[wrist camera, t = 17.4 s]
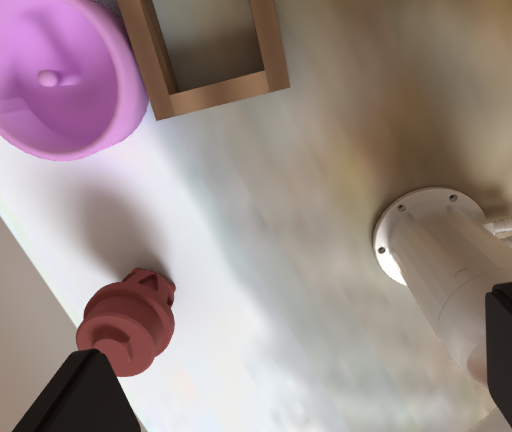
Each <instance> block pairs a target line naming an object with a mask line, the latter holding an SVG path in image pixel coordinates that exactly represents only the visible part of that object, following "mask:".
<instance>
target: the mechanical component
mask: <svg viewBox="0 0 512 432" xmlns="http://www.w3.org/2000/svg"><path fill="white" fill-rule="evenodd" d="M175 290H176V287H175V285H174V284H173V283H170V282H168V281H167V280H166V279H165V278H164V277H162V276H161V275H159V274H157V273H155V272H152V271H147V270H142V269H140V268H135V269H134V270H133V271H132V272H131V273H130V274H128V275H127V276H126V277H125V278H124V279H123V280H122V282H116V283H112V284H109V285H106V286H104V287H102V288H101V289H100V290H98V291H97V292H96V293H95V295H94V296H93V297H92V298H91V299H90V300H89V302H88V303H87V305H86V307H85V310H84V317H83V319H84V320H83V322H82V323H81V324H80V326H79V327H78V330H77V333H76V343H77V347H78V350H79V351H80V350H86V349H93V348H95V349H98V350H99V351H100V352H101V353H104V354H105V355H106V356H107V358H108V360H109V362H110V364H111V366H112V368H113V370H114V372H115V375H116V376H118V377H129V376H134V375H137V374H140V373H142V372H143V371H145V370H146V369H147V368H148V367H149V366H150V365H151V364H152V362H153V360H154V357H156V356H158V355H159V354H161V353H162V352H163V351H164V350H165V349H166V347H167V346H168V344H169V342H170V340H171V337H172V335H173V332H174V326H175V323H174V316H173V313H172V311H171V307H172V305H173V302H174V292H175Z"/></svg>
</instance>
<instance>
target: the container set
mask: <svg viewBox="0 0 512 432" xmlns="http://www.w3.org/2000/svg"><path fill="white" fill-rule="evenodd" d="M148 103H149V96H148V93H147V90H146V87H145V84H144V81H143V78H142V75H141V72H140V69H139V66H138V63H137V60H136V57H135V54H134V51H133V48H132V45H131V42H130V38H129V35H128V32H127V29H126V26H125V23H124V22H123V21H122V20H121V19H120V18H119V17H118V16H117V15H116V14H115V13H114V12H112V11H111V10H109V9H108V8H106V7H105V6H103V5H102V4H99V3H97V2H95V1H92V0H0V135H1V136H2V137H3V138H4V139H5V140H7V141H8V142H9V143H10V144H12V145H14V146H15V147H17V148H19V149H20V150H22V151H24V152H26V153H28V154H31V155H33V156H36V157H39V158H43V159H48V160H53V161H71V160H76V159H81V158H84V157H87V156H89V155H91V154H94V153H96V152H98V151H101V150H103V149H106V148H108V147H110V146H112V145H115V144H117V143H119V142H121V141H123V140H124V139H125V138H127V137H128V136H129V135H131V134H132V133H133V132H134V130H135V129H136V128H137V127H138V126H139V124H140V123H141V121H142V119H143V117H144V115H145V113H146V110H147V106H148Z"/></svg>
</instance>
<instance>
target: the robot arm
mask: <svg viewBox="0 0 512 432" xmlns="http://www.w3.org/2000/svg"><path fill="white" fill-rule="evenodd" d="M451 195H452V196H451ZM450 196H451V197H450ZM449 197H450V198H449ZM399 205H401V207H398V206H399ZM508 231H512V218H507V219H502V220H499V221H494V222H492V221H491V220H487V219H486V218H485V215H484V213H483V211H482V210H481V208H480V207H479V206H478V205H477V203H476V202H474V201H473V200H472V199H471V198H469V197H468V196H466V195H465V194H463V193H461V192H459V191H456V190H454V189H451V188H445V187H427V188H422V189H417V190H415V191H412V192H409V193H407V194H405V195H403V196H402V197H400V198H398V199H397V200H396V201H394V202H393V203H392V204H391V205H390V206H388V208H387V209H386V210H385V211H384V212H383V214H382V215H381V217H380V218H379V220H378V222H377V224H376V227H375V230H374V234H373V251H374V254H375V257H376V260H377V262H378V264H379V266H380V267H381V268H382V270H383V271H384V272H385V273H386V274H387V275H388V276H389V277H390V278H391V279H393V280H395V281H396V282H398V283H400V284H403V285H406V286H408V288H409V289H410V291H411V293H412V294H413V296H414V298H415V299H416V301H417V303H418V305H419V306H420V308H421V310H422V311H423V313H424V315H425V316H426V318H427V320H428V321H429V323H430V325H431V326H432V328H433V330H434V331H435V333H436V335H437V336H438V338H439V340H440V341H441V343H442V345H443V347H444V348H445V350H446V352H447V353H448V355H449V357H450V358H451V359H452V361H453V362H454V364H455V365H456V366H457V367H458V368H459V369H460V370H461V371H462V372H463V373H464V374H465V375H466V376H468V377H469V378H470V379H472V380H473V381H475V382H476V383H478V384H479V385H481V386H483V387H485V388H487V389H489V392H490V394H491V397H492V399H493V400H494V402H495V404H496V405H497V407H496V408H495V409H493V410H492V411H491V412H490V413H489V415H488V416H486V417H485V418H484V419H482V420H481V421H480V422H479V423H477V424H476V425H475V426H473V427H472V428H471V429H469V430H468V431H467V432H512V236H509V237H506V238H502V239H499V238H498V237H496V236H495V233H499V232H508ZM380 247H381V248H380ZM379 248H380V249H379ZM12 432H141V428H140V425H139V423H138V421H137V418H136V416H135V414H134V412H133V410H132V408H131V406H130V404H129V402H128V400H127V397H126V395H125V393H124V391H123V389H122V387H121V385H120V383H119V381H118V379H117V377H116V375H115V372H114V370H113V368H112V366H111V364H110V362H109V360H108V358H107V356H106V355H105V354H104V353H101V352H100V351H99V350H98V349H95V348H93V349H86V350H80V351H75V352H73V353H71V354H70V355H69V356H68V358H67V359H66V360H65V362H64V363H63V364H62V366H61V367H60V368H59V370H58V371H57V372H56V374H55V375H54V377H53V378H52V379H51V380H50V382H49V383H48V384H47V386H46V387H45V388H44V390H43V391H42V392H41V394H40V395H39V396H38V398H37V399H36V400H35V402H34V403H33V404H32V406H31V407H30V408H29V410H28V411H27V412H26V413H25V415H24V416H23V417H22V419H21V421H19V423H18V424H17V425H16V427H15V428H14V430H13V431H12Z"/></svg>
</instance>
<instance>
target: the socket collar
mask: <svg viewBox="0 0 512 432" xmlns="http://www.w3.org/2000/svg"><path fill="white" fill-rule="evenodd" d="M117 2H118V5H119V8H120V11H121V14H122V17H123V20H124V23H125V26H126V29H127V32H128V35H129V38H130V42H131V45H132V48H133V51H134V54H135V57H136V60H137V63H138V66H139V69H140V72H141V75H142V78H143V81H144V84H145V87H146V90H147V93H148V96H149V99H150V102H151V106H152V109H153V112H154V115H155V118H156V121H158V120H162V119H166V118H170V117H174V116H178V115H182V114H186V113H190V112H194V111H198V110H202V109H206V108H210V107H214V106H218V105H222V104H226V103H230V102H234V101H238V100H242V99H246V98H250V97H254V96H258V95H262V94H266V93H270V92H273V91H277V90H281V89H285V88H289V87H290V82H289V77H288V72H287V67H286V62H285V57H284V52H283V47H282V42H281V37H280V32H279V27H278V22H277V16H276V11H275V6H274V1H273V0H250V4H251V9H252V13H253V18H254V23H255V27H256V32H257V36H258V41H259V46H260V50H261V55H262V59H263V64H264V69H265V70H264V71H260V72H257V73H253V74H249V75H245V76H241V77H237V78H234V79H230V80H226V81H222V82H218V83H215V84H211V85H207V86H203V87H199V88H195V89H192V90H188V91H184V92H179V89H178V86H177V82H176V79H175V76H174V72H173V69H172V66H171V62H170V59H169V56H168V52H167V49H166V46H165V42H164V39H163V35H162V32H161V29H160V25H159V22H158V19H157V15H156V12H155V9H154V5H153V2H152V0H117Z"/></svg>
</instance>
